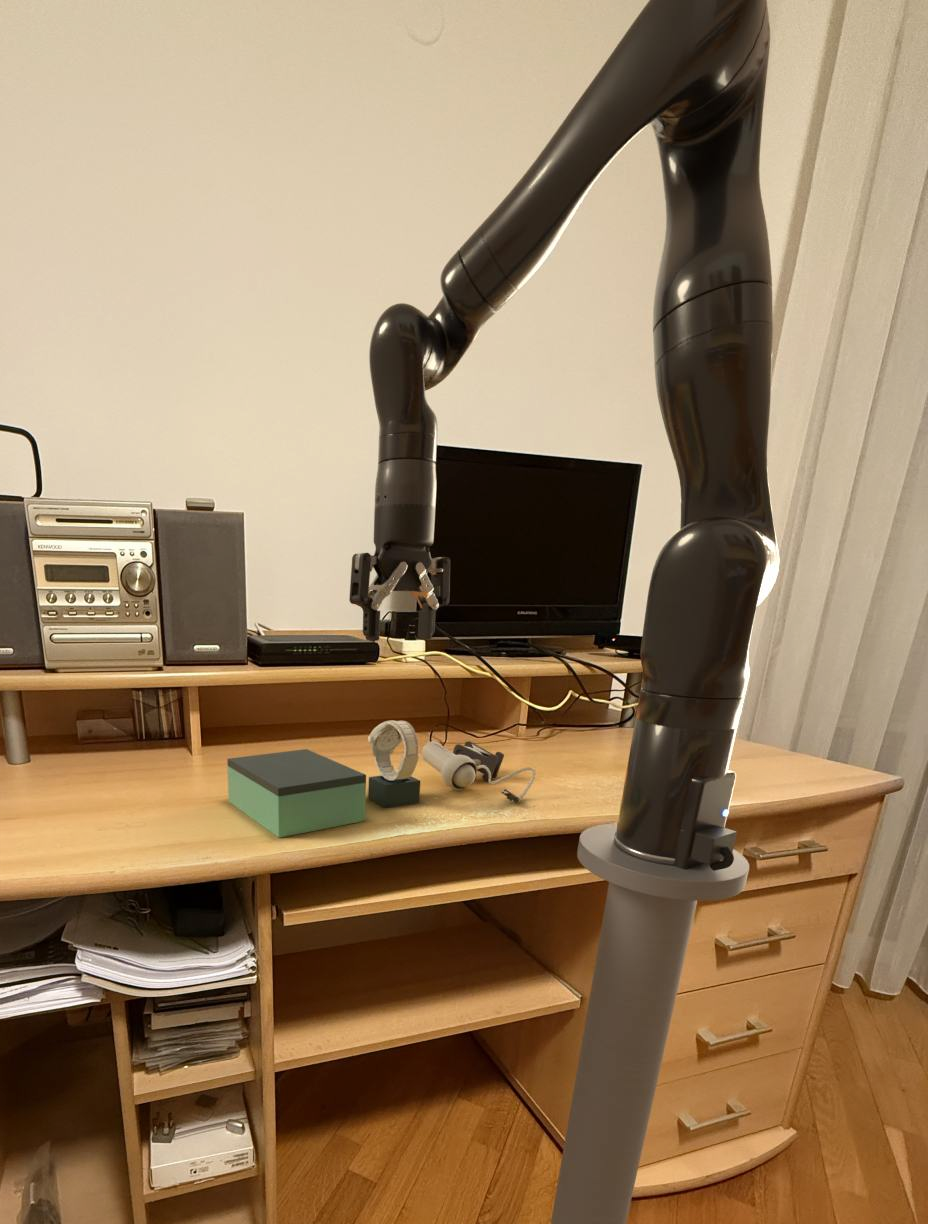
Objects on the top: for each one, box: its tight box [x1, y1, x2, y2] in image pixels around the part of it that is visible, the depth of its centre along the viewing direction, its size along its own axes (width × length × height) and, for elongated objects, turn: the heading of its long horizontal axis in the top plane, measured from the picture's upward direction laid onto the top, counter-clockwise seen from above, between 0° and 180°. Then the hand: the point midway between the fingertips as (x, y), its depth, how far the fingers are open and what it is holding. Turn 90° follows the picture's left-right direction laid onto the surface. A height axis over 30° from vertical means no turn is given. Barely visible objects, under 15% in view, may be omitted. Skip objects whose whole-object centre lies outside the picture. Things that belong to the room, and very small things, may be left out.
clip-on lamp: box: [421, 740, 536, 803], centre depth 92 cm, size 12×6×18 cm
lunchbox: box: [226, 748, 367, 839], centre depth 81 cm, size 15×12×6 cm
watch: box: [367, 719, 421, 809], centre depth 85 cm, size 6×8×11 cm
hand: (399, 639), depth 83 cm, fingers open, 8 cm apart
